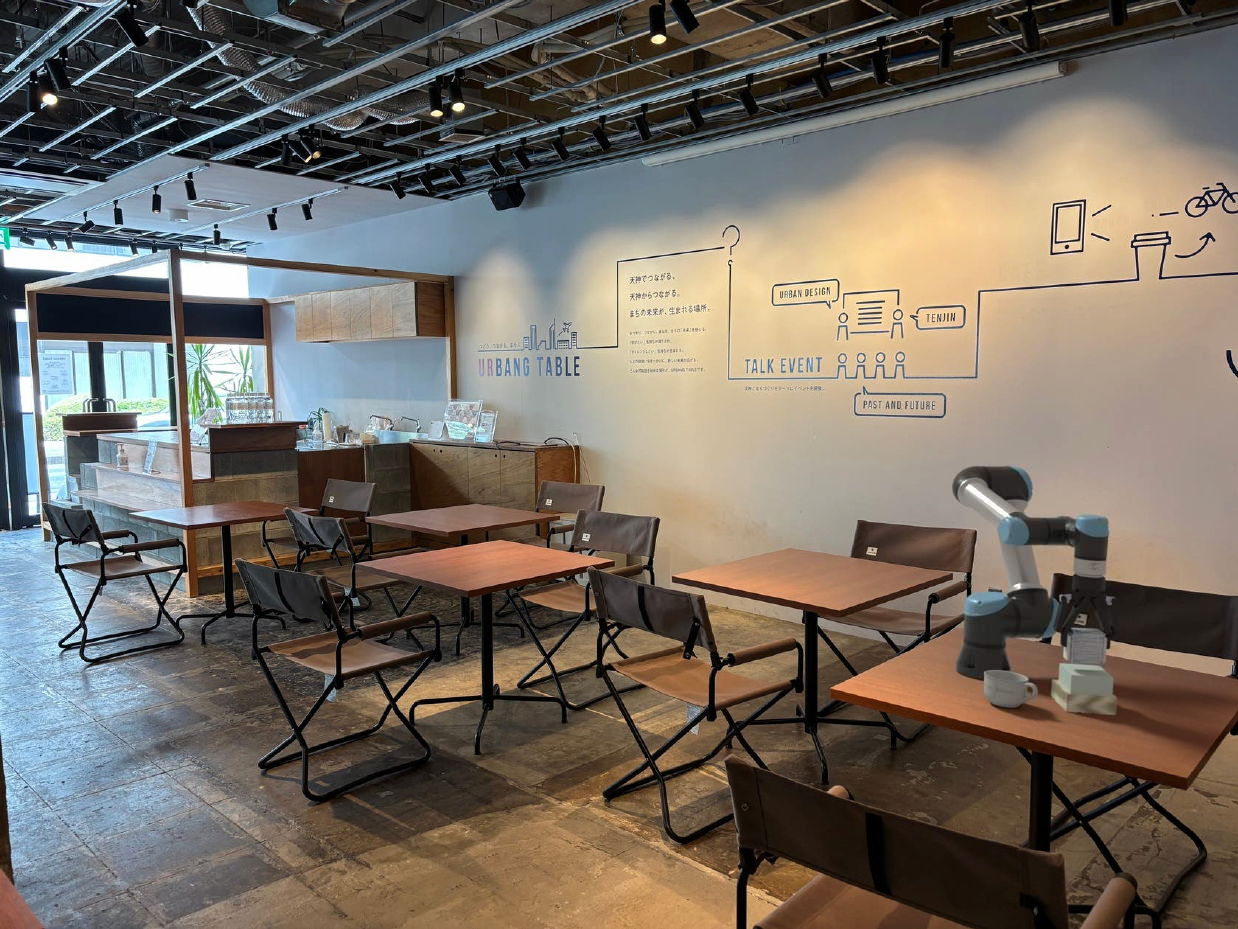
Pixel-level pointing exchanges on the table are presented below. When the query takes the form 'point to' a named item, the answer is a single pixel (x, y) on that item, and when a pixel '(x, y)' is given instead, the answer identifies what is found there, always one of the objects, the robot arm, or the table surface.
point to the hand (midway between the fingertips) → (1084, 659)
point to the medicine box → (1086, 646)
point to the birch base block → (1083, 701)
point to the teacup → (1007, 688)
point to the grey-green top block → (1085, 679)
